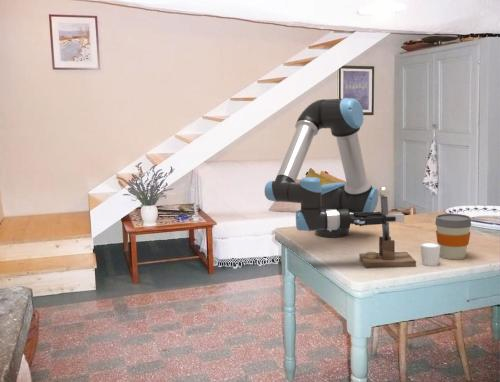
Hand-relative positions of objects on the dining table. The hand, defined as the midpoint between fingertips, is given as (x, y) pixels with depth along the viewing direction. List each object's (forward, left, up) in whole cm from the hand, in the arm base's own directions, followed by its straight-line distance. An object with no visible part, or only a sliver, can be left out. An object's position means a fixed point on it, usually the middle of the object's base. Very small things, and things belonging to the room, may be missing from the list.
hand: (402, 217), depth 192 cm
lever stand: (0, -6, -17) cm, 18 cm away
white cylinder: (+3, +9, -17) cm, 20 cm away
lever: (0, -6, -13) cm, 14 cm away
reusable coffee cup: (-5, +20, -17) cm, 27 cm away
